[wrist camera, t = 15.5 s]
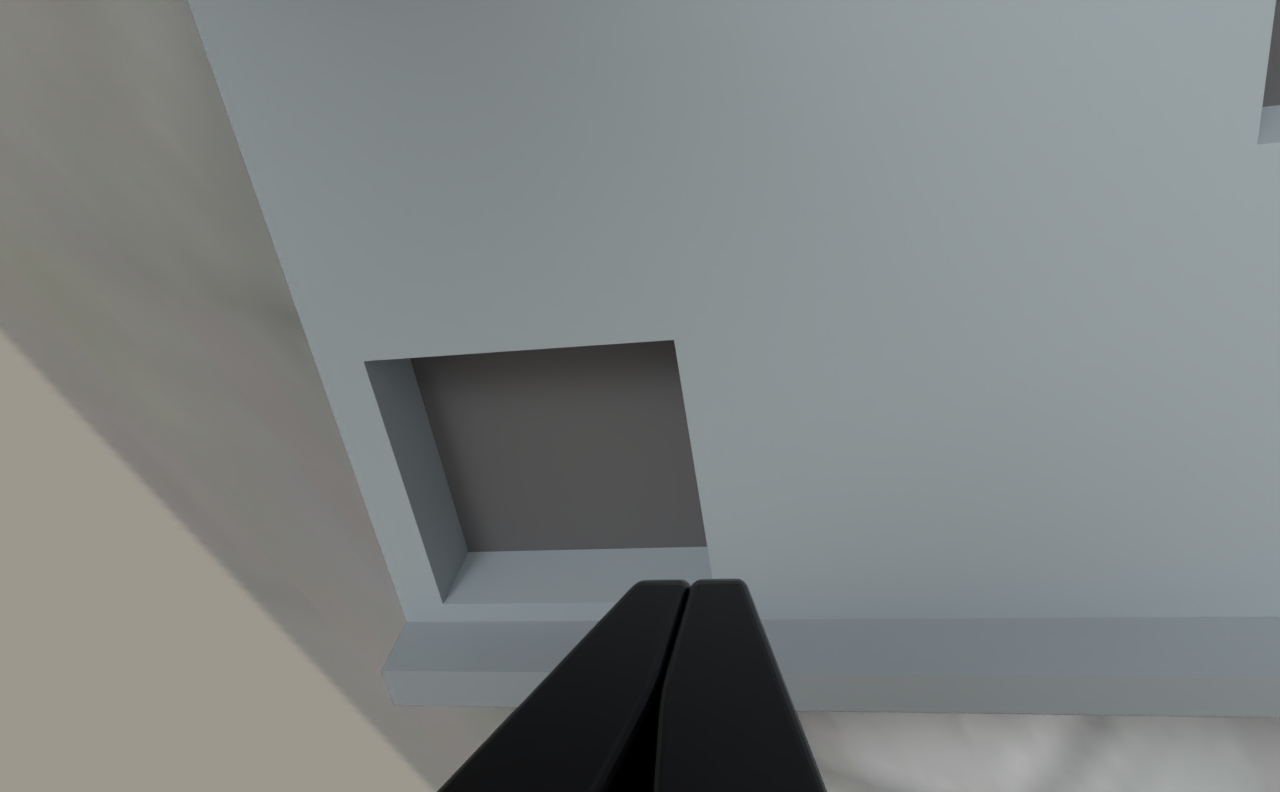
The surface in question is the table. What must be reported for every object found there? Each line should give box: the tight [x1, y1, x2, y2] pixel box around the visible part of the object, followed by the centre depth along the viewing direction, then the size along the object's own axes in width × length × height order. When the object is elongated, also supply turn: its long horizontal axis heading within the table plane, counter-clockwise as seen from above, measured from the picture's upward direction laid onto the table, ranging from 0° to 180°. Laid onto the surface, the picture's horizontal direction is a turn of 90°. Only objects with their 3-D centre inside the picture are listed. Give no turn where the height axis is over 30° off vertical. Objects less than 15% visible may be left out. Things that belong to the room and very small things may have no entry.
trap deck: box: [187, 0, 1280, 718], centre depth 16 cm, size 18×27×4 cm, turn 99°
